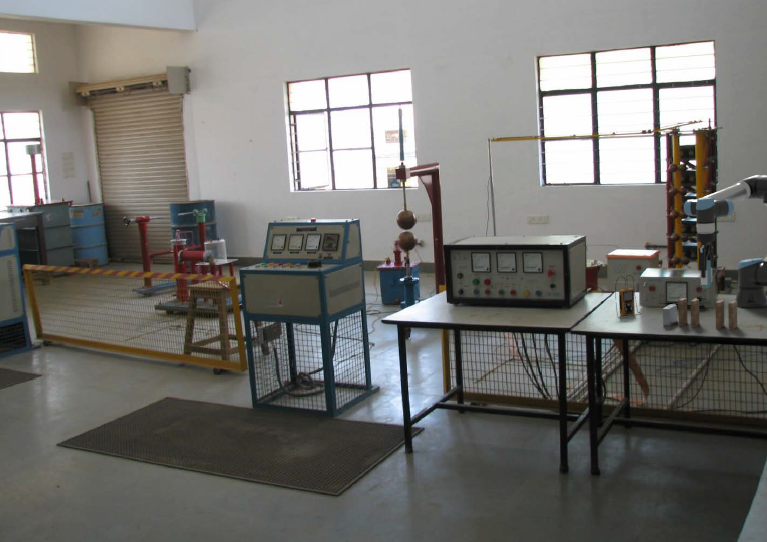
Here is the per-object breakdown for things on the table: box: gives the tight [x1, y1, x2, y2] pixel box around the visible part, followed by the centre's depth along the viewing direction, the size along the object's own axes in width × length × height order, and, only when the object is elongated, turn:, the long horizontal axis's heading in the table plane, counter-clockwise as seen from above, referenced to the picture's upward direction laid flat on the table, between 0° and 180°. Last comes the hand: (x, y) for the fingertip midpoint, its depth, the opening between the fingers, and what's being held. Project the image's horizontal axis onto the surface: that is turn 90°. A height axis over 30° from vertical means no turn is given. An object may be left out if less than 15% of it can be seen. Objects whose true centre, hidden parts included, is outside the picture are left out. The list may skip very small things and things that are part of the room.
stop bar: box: [662, 304, 678, 327], centre depth 370 cm, size 3×10×8 cm, turn 141°
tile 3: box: [702, 260, 712, 290], centre depth 356 cm, size 2×6×12 cm, turn 140°
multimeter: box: [614, 274, 641, 319], centre depth 389 cm, size 15×10×20 cm
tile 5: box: [677, 298, 689, 327], centre depth 366 cm, size 2×6×12 cm, turn 141°
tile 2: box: [714, 299, 725, 330], centre depth 355 cm, size 2×6×12 cm, turn 140°
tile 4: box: [690, 298, 701, 328], centre depth 362 cm, size 2×6×12 cm, turn 141°
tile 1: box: [727, 300, 738, 331], centre depth 351 cm, size 2×6×12 cm, turn 141°
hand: (706, 283), depth 356 cm, fingers closed on tile 3, 6 cm apart
